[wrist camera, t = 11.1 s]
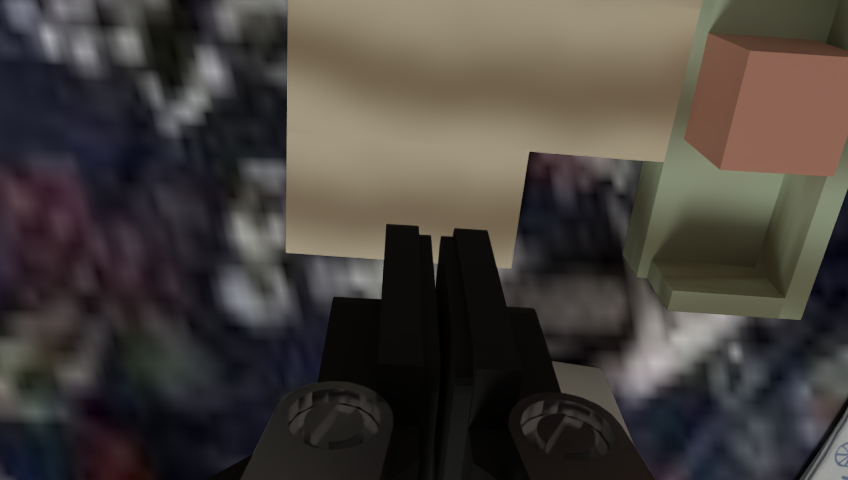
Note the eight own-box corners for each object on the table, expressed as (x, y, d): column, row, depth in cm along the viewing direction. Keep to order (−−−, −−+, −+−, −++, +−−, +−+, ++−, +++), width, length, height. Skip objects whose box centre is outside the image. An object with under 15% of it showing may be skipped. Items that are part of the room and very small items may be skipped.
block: (708, 33, 29) (750, 50, 26) (815, 40, 29) (872, 58, 26) (683, 139, 31) (719, 169, 28) (784, 145, 31) (834, 176, 28)
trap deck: (299, -192, 28) (275, -213, 23) (870, -133, 29) (965, -141, 24) (294, 230, 35) (274, 283, 30) (747, 263, 37) (800, 319, 32)
